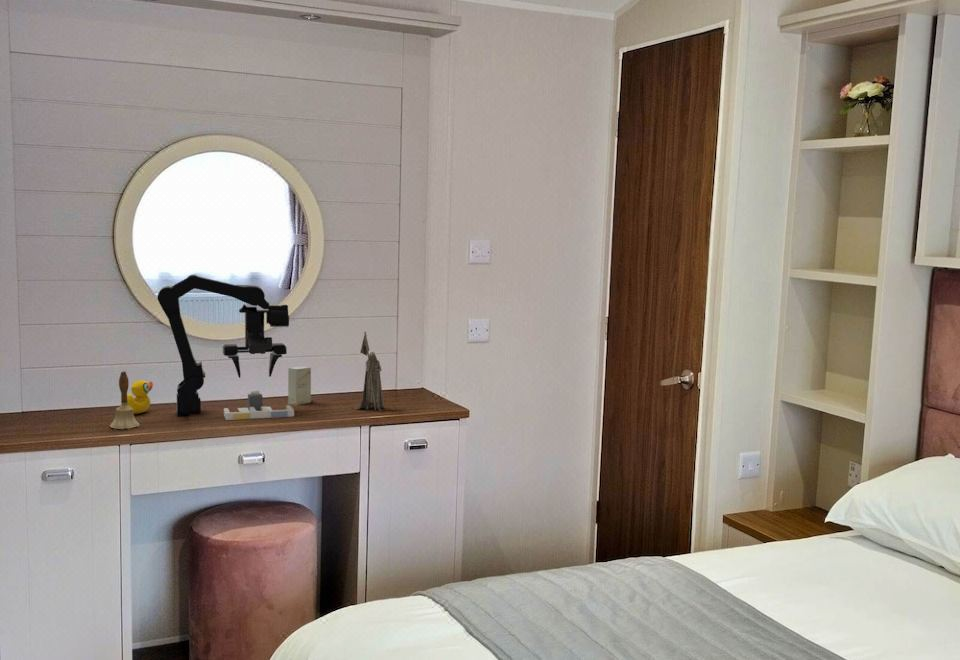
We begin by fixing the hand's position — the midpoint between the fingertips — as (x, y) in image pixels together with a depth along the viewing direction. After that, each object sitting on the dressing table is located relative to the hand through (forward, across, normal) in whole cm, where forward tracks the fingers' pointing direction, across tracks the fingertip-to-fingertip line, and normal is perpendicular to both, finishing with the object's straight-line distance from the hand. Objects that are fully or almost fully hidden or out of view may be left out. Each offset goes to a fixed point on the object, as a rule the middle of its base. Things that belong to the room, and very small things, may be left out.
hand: (254, 377), depth 293 cm
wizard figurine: (+11, +35, -6) cm, 37 cm away
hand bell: (+11, -38, -11) cm, 41 cm away
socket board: (+11, 0, -10) cm, 14 cm away
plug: (+10, 0, 0) cm, 10 cm away
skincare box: (+11, +15, +7) cm, 20 cm away
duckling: (+11, -34, +6) cm, 36 cm away
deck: (+11, 0, 0) cm, 11 cm away
